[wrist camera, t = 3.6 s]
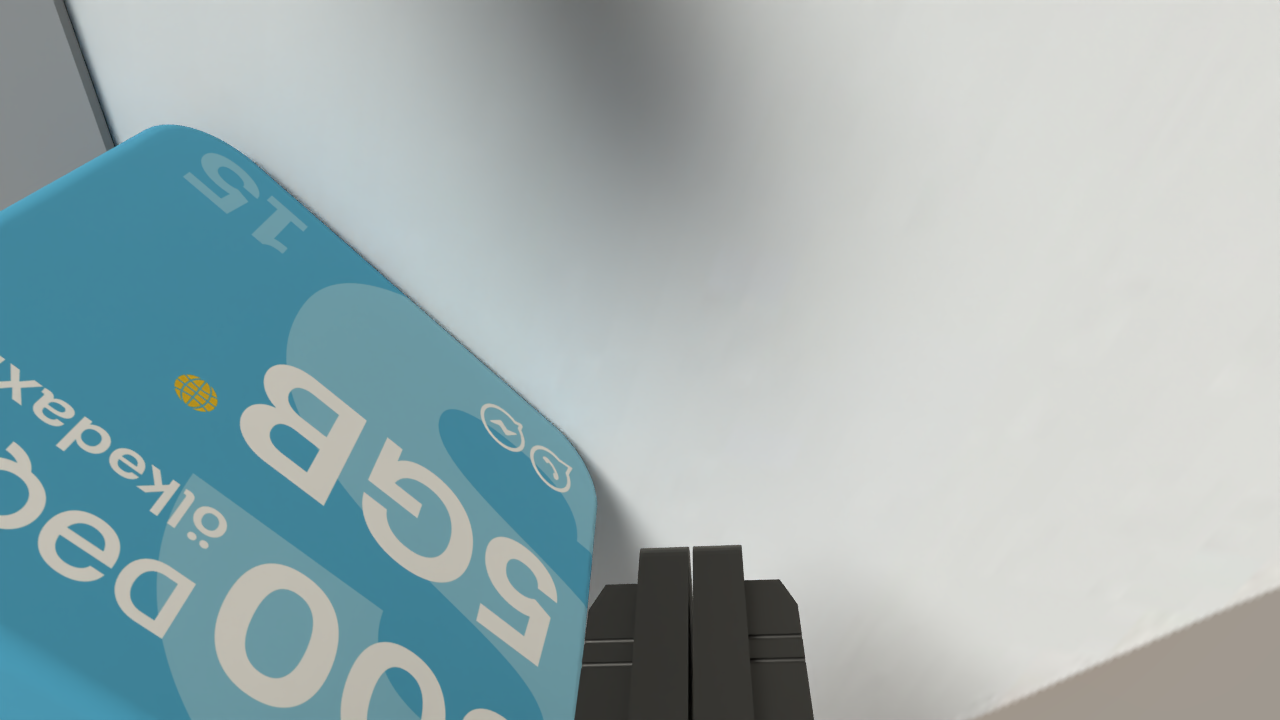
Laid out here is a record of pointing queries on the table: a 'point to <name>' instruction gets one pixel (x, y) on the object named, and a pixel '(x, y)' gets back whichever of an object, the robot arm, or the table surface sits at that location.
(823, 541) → the table surface
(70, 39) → the mat
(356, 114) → the table surface
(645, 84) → the table surface
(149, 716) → the data package
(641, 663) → the robot arm
